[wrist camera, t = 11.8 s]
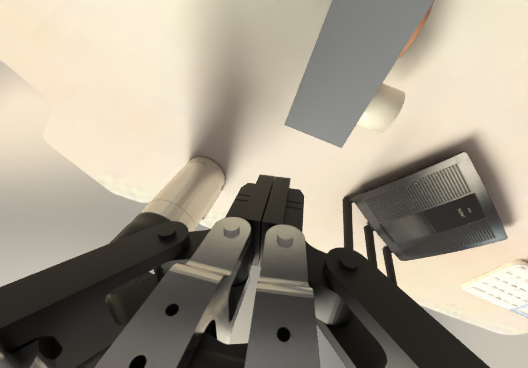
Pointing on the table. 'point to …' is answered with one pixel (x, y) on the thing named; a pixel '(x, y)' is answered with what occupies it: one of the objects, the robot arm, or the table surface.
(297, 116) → the button panel
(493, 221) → the router
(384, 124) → the cream button
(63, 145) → the table surface
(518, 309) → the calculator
